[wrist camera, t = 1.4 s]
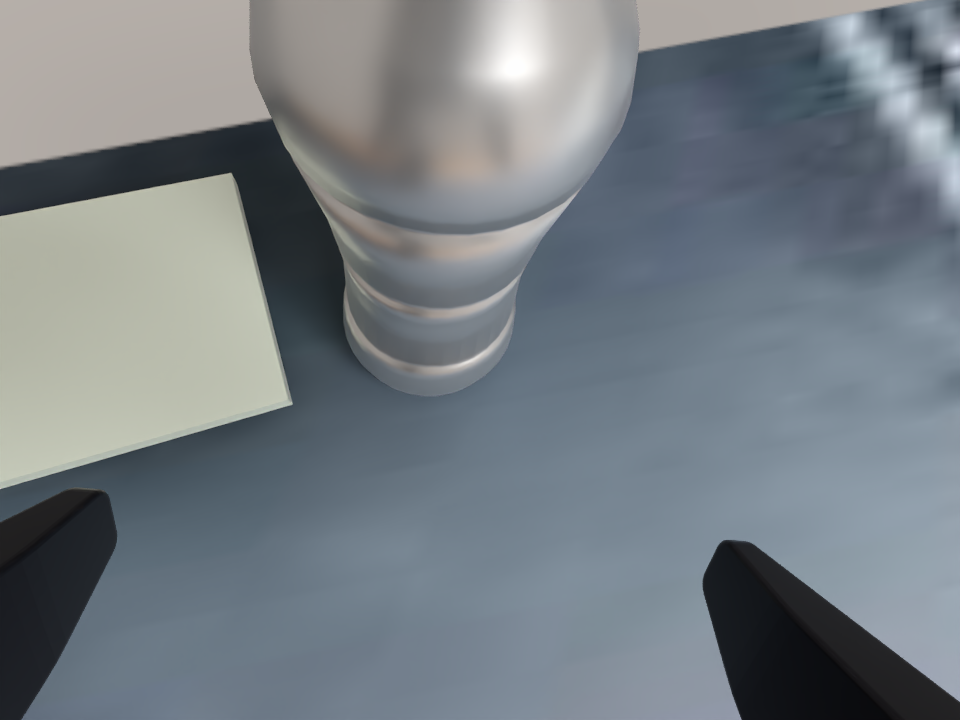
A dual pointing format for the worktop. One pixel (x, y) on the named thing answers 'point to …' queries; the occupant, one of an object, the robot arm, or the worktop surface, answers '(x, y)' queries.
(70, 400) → the plate
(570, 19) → the plastic bottle
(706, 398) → the worktop surface
